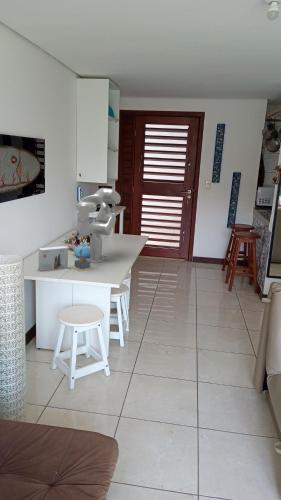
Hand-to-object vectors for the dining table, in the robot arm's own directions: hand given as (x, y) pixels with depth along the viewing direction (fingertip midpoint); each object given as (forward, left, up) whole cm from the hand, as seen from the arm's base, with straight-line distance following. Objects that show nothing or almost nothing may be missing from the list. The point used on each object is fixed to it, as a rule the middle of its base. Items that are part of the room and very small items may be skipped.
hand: (83, 243), depth 280 cm
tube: (+1, 0, -19) cm, 19 cm away
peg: (0, 0, -18) cm, 18 cm away
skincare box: (+19, -10, -19) cm, 29 cm away
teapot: (-20, -26, -19) cm, 38 cm away
